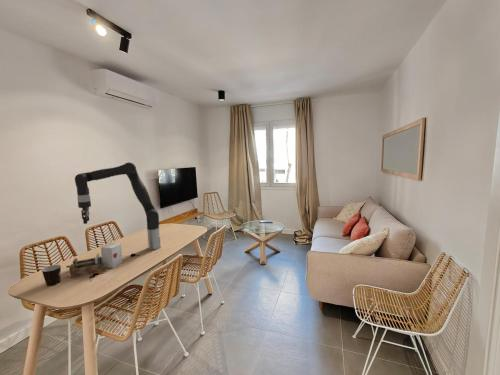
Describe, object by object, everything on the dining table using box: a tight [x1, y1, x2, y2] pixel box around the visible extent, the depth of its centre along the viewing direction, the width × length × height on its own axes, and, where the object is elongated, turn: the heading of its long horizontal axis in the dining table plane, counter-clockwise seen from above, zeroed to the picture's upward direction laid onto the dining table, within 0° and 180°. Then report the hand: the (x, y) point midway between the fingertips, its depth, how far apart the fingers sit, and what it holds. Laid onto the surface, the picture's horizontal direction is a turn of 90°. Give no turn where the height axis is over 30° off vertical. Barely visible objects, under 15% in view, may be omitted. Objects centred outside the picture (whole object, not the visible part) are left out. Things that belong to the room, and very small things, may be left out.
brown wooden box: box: [68, 256, 106, 279], centre depth 151 cm, size 18×15×7 cm
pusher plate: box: [65, 253, 101, 269], centre depth 149 cm, size 18×11×8 cm, turn 118°
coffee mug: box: [41, 264, 62, 287], centre depth 133 cm, size 12×9×10 cm
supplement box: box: [100, 242, 123, 269], centre depth 157 cm, size 9×9×15 cm
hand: (86, 222), depth 163 cm, fingers open, 8 cm apart
